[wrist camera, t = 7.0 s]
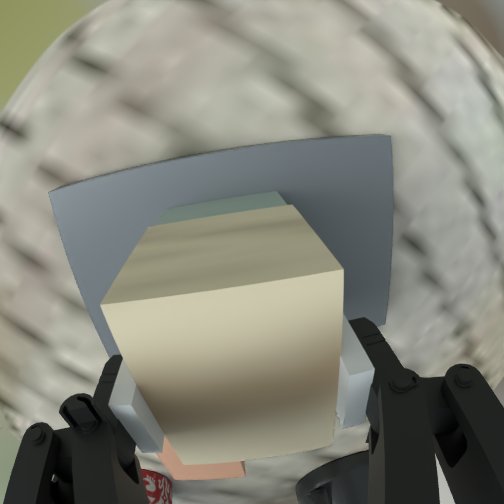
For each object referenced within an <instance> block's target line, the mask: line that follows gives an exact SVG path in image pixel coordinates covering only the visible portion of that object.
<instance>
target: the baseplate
mask: <svg viewBox="0 0 504 504" xmlns="http://www.w3.org/2000/svg"><path fill="white" fill-rule="evenodd" d="M48 194H49V198H50V202H51V205H52V209H53V213H54V216H55V220H56V223H57V227H58V230H59V233H60V236H61V240H62V243H63V246H64V249H65V252H66V255H67V258H68V261H69V263H70V266H71V269H72V272H73V275H74V277H75V280H76V283H77V285H78V288H79V290H80V293H81V295H82V298H83V300H84V303H85V305H86V308H87V310H88V312H89V315H90V317H91V319H92V321H93V324H94V326H95V328H96V330H97V333H98V335H99V337H100V339H101V341H102V343H103V345H104V347H105V349H106V351H107V354H108V356H109V358H111V357H112V356H113V355H119V354H121V353H120V351H119V348H118V346H117V344H116V342H115V340H114V337H113V335H112V333H111V330H110V328H109V326H108V323H107V321H106V319H105V316H104V314H103V311H102V309H101V306H100V304H101V302H102V300H103V299H104V297H105V295H106V294H107V292H108V290H109V289H110V287H111V285H112V284H113V282H114V280H115V279H116V277H117V275H118V274H119V272H120V270H121V269H122V267H123V266H124V264H125V262H126V261H127V259H128V258H129V256H130V254H131V253H132V251H133V250H134V248H135V247H136V245H137V244H138V242H139V241H140V239H141V237H142V236H143V234H144V233H145V231H146V230H147V228H148V227H151V226H157V225H162V224H168V223H174V222H180V221H186V220H192V219H198V218H204V217H210V216H216V215H223V214H229V213H236V212H242V211H249V210H256V209H263V208H270V207H277V206H284V205H292V204H293V206H294V207H295V208H296V209H297V211H298V212H299V213H300V214H301V215H302V217H303V218H304V219H305V220H306V222H307V223H308V224H309V225H310V227H311V228H312V229H313V230H314V232H315V233H316V234H317V235H318V237H319V238H320V239H321V240H322V242H323V243H324V244H325V246H326V247H327V248H328V249H329V251H330V252H331V253H332V255H333V256H334V257H335V258H336V260H337V261H338V262H339V264H340V265H341V266H342V268H343V269H344V292H343V313H344V315H345V317H346V319H347V320H353V319H357V318H361V317H365V318H367V319H369V320H370V321H372V322H373V323H375V325H376V326H380V325H384V324H385V323H386V315H387V306H388V296H389V285H390V273H391V257H392V236H393V165H392V144H391V136H389V135H381V134H372V135H351V136H335V137H322V138H310V139H300V140H290V141H281V142H273V143H264V144H257V145H249V146H242V147H236V148H229V149H223V150H216V151H211V152H205V153H199V154H194V155H188V156H183V157H178V158H173V159H168V160H163V161H158V162H154V163H149V164H145V165H140V166H136V167H132V168H127V169H123V170H119V171H115V172H111V173H107V174H104V175H100V176H96V177H92V178H89V179H85V180H82V181H78V182H75V183H71V184H68V185H64V186H61V187H58V188H56V189H54V190H52V191H50V192H48Z"/></svg>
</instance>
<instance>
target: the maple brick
mask: <svg viewBox="0 0 504 504" xmlns="http://www.w3.org/2000/svg"><path fill="white" fill-rule="evenodd" d="M343 292H344V269H343V268H342V266H341V265H340V264H339V262H338V261H337V260H336V258H335V257H334V256H333V255H332V253H331V252H330V251H329V249H328V248H327V247H326V246H325V244H324V243H323V242H322V240H321V239H320V238H319V237H318V235H317V234H316V233H315V232H314V230H313V229H312V228H311V227H310V225H309V224H308V223H307V222H306V220H305V219H304V218H303V217H302V215H301V214H300V213H299V212H298V211H297V209H296V208H295V207H294V206H293V204H292V205H284V206H277V207H270V208H263V209H256V210H249V211H242V212H236V213H229V214H223V215H216V216H210V217H204V218H198V219H192V220H186V221H180V222H174V223H168V224H162V225H157V226H151V227H148V228H147V230H146V231H145V233H144V234H143V236H142V237H141V239H140V241H139V242H138V244H137V245H136V247H135V248H134V250H133V251H132V253H131V254H130V256H129V258H128V259H127V261H126V262H125V264H124V266H123V267H122V269H121V270H120V272H119V274H118V275H117V277H116V279H115V280H114V282H113V284H112V285H111V287H110V289H109V290H108V292H107V294H106V295H105V297H104V299H103V300H102V302H101V304H100V306H101V309H102V311H103V314H104V316H105V319H106V321H107V323H108V326H109V328H110V330H111V333H112V335H113V337H114V340H115V342H116V344H117V346H118V348H119V351H120V353H121V355H122V357H123V359H124V361H125V363H126V365H127V367H128V369H129V371H130V373H131V375H132V377H133V379H134V381H135V383H136V385H137V387H138V389H139V391H140V393H141V394H142V396H143V398H144V400H145V402H146V403H147V405H148V407H149V409H150V410H151V412H152V414H153V416H154V417H155V419H156V421H157V422H158V424H159V426H160V427H161V429H162V431H163V432H164V435H165V437H166V438H167V440H168V442H169V443H170V445H171V446H172V448H173V449H174V451H175V453H176V454H177V456H178V457H179V459H180V460H181V462H182V463H183V465H197V464H215V463H228V462H238V461H247V460H256V459H263V458H270V457H276V456H283V455H288V454H294V453H299V452H304V451H309V450H314V449H318V448H323V447H327V446H331V445H332V442H333V435H334V426H335V418H336V407H337V395H338V382H339V367H340V356H341V345H342V325H343Z"/></svg>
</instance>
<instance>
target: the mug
mask: <svg viewBox="0 0 504 504" xmlns="http://www.w3.org/2000/svg"><path fill="white" fill-rule="evenodd" d="M141 472H142V476H143V481H144V485H145V489H146V493H147V497H148V501H149V504H172V484H171V482H170V481H169V480H168V479H167V478H166V477H164V476H162V475H160V474H157V473H154V472H151V471H147V470H142V469H141Z"/></svg>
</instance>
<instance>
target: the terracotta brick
mask: <svg viewBox="0 0 504 504" xmlns="http://www.w3.org/2000/svg"><path fill="white" fill-rule="evenodd" d="M156 454H157V456H158V457H159V459H160V460H161V462H162V463H163V464H164V466H165V467H166V468H167V470H168V471H169V472H170V474H171V475H172V476H173V478H174V479H175V480H208V479H225V478H238V477H246V475H245V465H244V461H238V462H228V463H215V464H197V465H183V463H182V462H181V460H180V459H179V457H178V456H177V454H176V453H175V451H174V449H173V448H172V446H171V445H170V443H169V442H168V440H167V438H166V437H165V435H164V443H163V452H162V453H156Z"/></svg>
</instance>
